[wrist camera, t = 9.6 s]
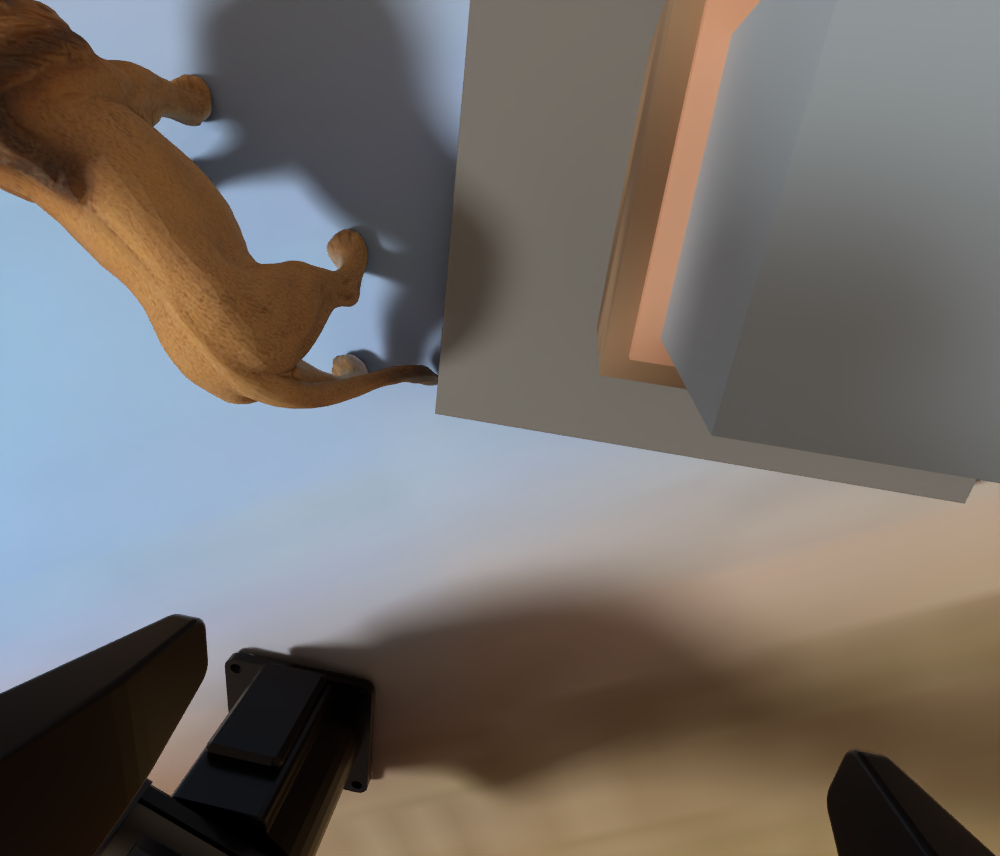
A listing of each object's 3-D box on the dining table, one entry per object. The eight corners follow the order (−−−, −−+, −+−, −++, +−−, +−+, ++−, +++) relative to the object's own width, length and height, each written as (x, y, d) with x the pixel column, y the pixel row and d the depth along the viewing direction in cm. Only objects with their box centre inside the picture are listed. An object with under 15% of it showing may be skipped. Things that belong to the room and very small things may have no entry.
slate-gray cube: (930, 379, 11) (1190, 515, 6) (660, 338, 11) (711, 435, 6) (1063, 69, 9) (1596, -81, 4) (731, 34, 9) (875, -136, 5)
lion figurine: (28, 142, 18) (-453, 90, 10) (86, -27, 16) (-457, -274, 8) (402, 429, 20) (267, 594, 11) (495, 309, 18) (414, 403, 9)
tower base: (944, 487, 18) (1119, 627, 12) (442, 403, 19) (378, 491, 13) (1217, -80, 12) (1777, -332, 7) (491, -140, 14) (419, -391, 8)
